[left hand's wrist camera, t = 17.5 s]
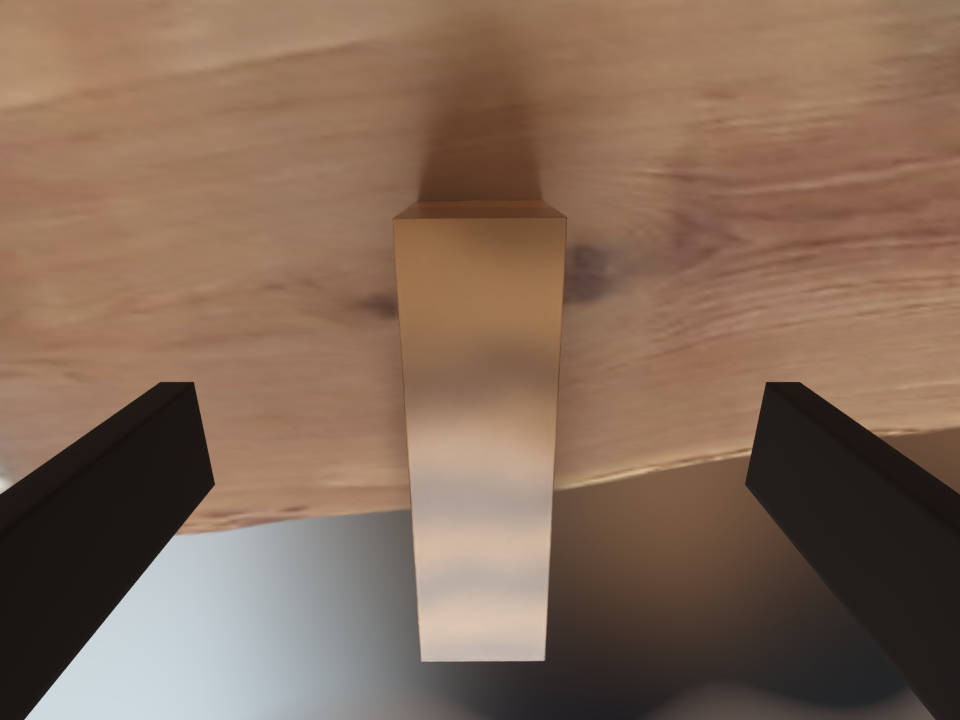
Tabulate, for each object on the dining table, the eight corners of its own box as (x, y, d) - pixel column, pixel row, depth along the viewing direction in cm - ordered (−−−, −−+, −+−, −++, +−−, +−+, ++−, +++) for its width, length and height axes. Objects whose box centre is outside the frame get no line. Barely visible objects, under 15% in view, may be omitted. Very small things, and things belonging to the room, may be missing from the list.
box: (416, 201, 35) (392, 218, 25) (542, 199, 35) (567, 216, 25) (433, 552, 45) (420, 662, 35) (531, 551, 45) (545, 661, 35)
